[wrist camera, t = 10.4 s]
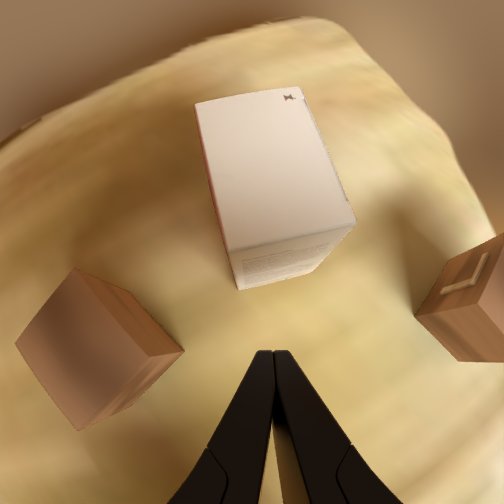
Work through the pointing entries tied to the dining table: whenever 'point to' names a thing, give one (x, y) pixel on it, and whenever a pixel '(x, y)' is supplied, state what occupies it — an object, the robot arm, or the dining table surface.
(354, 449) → the robot arm
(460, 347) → the walnut block seven
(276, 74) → the dining table surface
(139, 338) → the walnut block one
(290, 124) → the small box
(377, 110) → the dining table surface
